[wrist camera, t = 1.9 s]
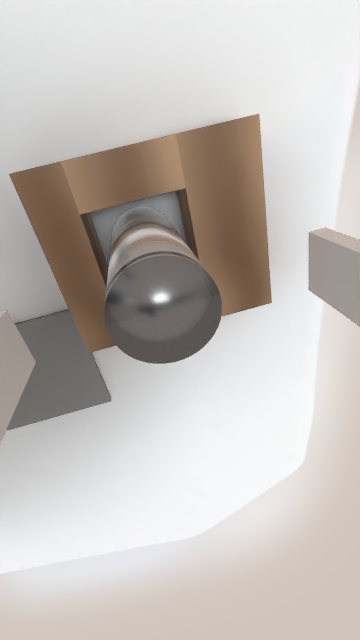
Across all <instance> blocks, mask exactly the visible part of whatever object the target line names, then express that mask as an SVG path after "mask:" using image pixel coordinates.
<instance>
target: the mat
mask: <svg viewBox="0 0 360 640" xmlns="http://www.w3.org/2000/svg"><path fill="white" fill-rule="evenodd" d="M15 326H16V327H17V329H18V331H19V333H20V334H21V336H22V338H23V340H24V342H25V343H26V345H27V347H28V349H29V351H30V352H31V354H32V356H33V358H34V360H35V361H36V363H35V365H34V367H33V370H32V372H31V374H30V377H29V379H28V381H27V383H26V386H25V388H24V390H23V393H22V395H21V397H20V400H19V402H18V404H17V406H16V409H15V411H14V413H13V416H12V418H11V420H10V422H9V425H8V427H7V430H10V429H14V428H17V427H21V426H25V425H28V424H32V423H35V422H39V421H42V420H46V419H49V418H53V417H56V416H60V415H64V414H67V413H71V412H74V411H78V410H81V409H85V408H88V407H92V406H95V405H99V404H102V403H106V402H110V401H111V396H110V394H109V392H108V389H107V387H106V385H105V383H104V380H103V378H102V376H101V374H100V371H99V369H98V367H97V364H96V362H95V360H94V358H93V355H92V353H91V352H90V353H88V350H87V348H86V346H85V344H84V342H83V339H82V337H81V335H80V333H79V330H78V328H77V326H76V324H75V321H74V319H73V317H72V315H71V312H70V310H66V311H62V312H58V313H54V314H51V315H47V316H43V317H39V318H36V319H32V320H28V321H24V322H20V323H17V324H15Z"/></svg>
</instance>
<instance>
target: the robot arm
mask: <svg viewBox="0 0 360 640" xmlns="http://www.w3.org/2000/svg"><path fill="white" fill-rule="evenodd" d="M309 290H310V291H311V292H313V293H314V294H315V295H317V296H318V297H319V298H321V299H322V300H324V301H325V302H326V303H328V304H329V305H331V306H332V307H333V308H335V309H336V310H337V311H339V312H340V313H342V314H343V315H345V316H346V317H347V318H349V319H350V320H351V321H353V322H354V323H355V324H357V325H358V326H360V240H359V239H356V238H353V237H351V236H348V235H345V234H342V233H339V232H336V231H333V230H331V229H328V228H323V229H319V230H315V231H311V232H309ZM35 363H36V361H35V360H34V358H33V356H32V354H31V352H30V351H29V349H28V347H27V345H26V343H25V342H24V340H23V338H22V336H21V334H20V333H19V331H18V329H17V327H16V326H15V324H14V322H13V320H12V318H11V317H10V315H9V313H8V311H7V310H5V311H1V312H0V443H1V441H2V438H3V436H4V434H5V432H6V429H7V427H8V425H9V422H10V420H11V418H12V416H13V413H14V411H15V409H16V406H17V404H18V402H19V400H20V397H21V395H22V393H23V390H24V388H25V386H26V383H27V381H28V379H29V377H30V374H31V372H32V370H33V367H34V365H35Z"/></svg>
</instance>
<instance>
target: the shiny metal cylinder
mask: <svg viewBox="0 0 360 640" xmlns="http://www.w3.org/2000/svg"><path fill="white" fill-rule="evenodd" d="M221 314H222V300H221V295H220V292H219V289H218V287H217V285H216V283H215V282H214V280H213V279H212V277H211V276H210V275H209V273H208V272H207V271H206V269H205V268H204V267H203V265H202V264H201V263H200V262H199V260H198V259H197V258H196V256H195V255H194V254H193V252H192V251H191V250H190V248H189V247H188V246H187V244H186V243H185V242H184V241H183V239H182V238H181V237H180V235H179V234H178V233H177V231H176V230H175V229H174V227H173V226H172V225H171V223H170V222H169V221H168V219H167V218H166V217H165V216H164V215H163V214H162V213H161V212H159V211H158V210H156V209H153V208H151V207H145V206H139V207H134V208H131V209H129V210H127V211H125V212H124V213H123V214H121V215H120V217H119V218H118V219H117V221H116V222H115V224H114V227H113V231H112V239H111V249H110V258H109V268H108V278H107V287H106V297H105V307H104V319H105V325H106V328H107V331H108V333H109V335H110V337H111V339H112V340H113V342H114V343H115V344H116V345H117V347H118V348H119V349H121V350H122V351H123V352H124V353H126V354H127V355H129V356H131V357H133V358H135V359H137V360H140V361H143V362H148V363H156V364H163V363H171V362H176V361H179V360H182V359H185V358H187V357H189V356H191V355H193V354H195V353H196V352H198V351H199V350H200V349H202V348H203V347H204V346H205V345H206V344H207V343H208V342H209V341H210V339H211V338H212V337H213V335H214V334H215V332H216V330H217V328H218V326H219V323H220V319H221Z"/></svg>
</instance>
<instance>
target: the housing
mask: <svg viewBox="0 0 360 640" xmlns="http://www.w3.org/2000/svg"><path fill="white" fill-rule="evenodd" d="M9 175H10V177H11V180H12V182H13V184H14V186H15V189H16V191H17V193H18V195H19V198H20V200H21V202H22V204H23V207H24V209H25V211H26V213H27V216H28V218H29V220H30V222H31V225H32V227H33V229H34V231H35V234H36V236H37V238H38V240H39V243H40V245H41V247H42V249H43V252H44V254H45V256H46V258H47V261H48V263H49V265H50V267H51V270H52V272H53V274H54V276H55V279H56V281H57V283H58V285H59V288H60V290H61V292H62V294H63V297H64V299H65V301H66V303H67V306H68V308H69V310H70V312H71V315H72V317H73V319H74V321H75V324H76V326H77V328H78V330H79V333H80V335H81V337H82V339H83V342H84V344H85V346H86V348H87V350H88V353H90V352H93V351H97V350H101V349H104V348H108V347H112V346H115V345H116V344H115V343H114V342H113V340H112V339H111V337H110V335H109V333H108V331H107V328H106V325H105V319H104V307H105V297H106V287H107V278H108V266H107V263H106V260H105V257H104V255H103V252H102V249H101V246H100V243H99V240H98V237H97V234H96V231H95V229H94V226H93V223H92V220H91V217H90V214H89V212H92V211H96V210H100V209H104V208H108V207H112V206H116V205H120V204H124V203H128V202H132V201H136V200H140V199H144V198H148V197H152V196H156V195H160V194H164V193H168V192H172V191H176V190H177V195H178V200H179V205H180V210H181V215H182V220H183V225H184V230H185V235H186V240H187V245H188V247H189V248H190V250H191V251H192V252H193V254H194V255H195V256H196V258H197V259H198V260H199V262H200V263H201V264H202V265H203V267H204V268H205V269H206V271H207V272H208V273H209V275H210V276H211V277H212V279H213V280H214V282H215V283H216V285H217V287H218V289H219V292H220V295H221V300H222V314H221V316H225V315H229V314H232V313H236V312H240V311H243V310H247V309H251V308H254V307H258V306H262V305H265V304H269V303H272V301H271V286H270V271H269V256H268V241H267V226H266V210H265V195H264V180H263V165H262V150H261V135H260V119H259V114H256V115H252V116H248V117H244V118H240V119H236V120H231V121H227V122H223V123H219V124H215V125H211V126H207V127H202V128H198V129H194V130H190V131H186V132H182V133H177V134H173V135H169V136H165V137H161V138H157V139H153V140H148V141H144V142H140V143H136V144H132V145H128V146H124V147H119V148H115V149H111V150H107V151H103V152H99V153H94V154H90V155H86V156H82V157H78V158H74V159H70V160H65V161H61V162H57V163H53V164H49V165H45V166H41V167H36V168H32V169H28V170H24V171H20V172H16V173H11V174H9Z"/></svg>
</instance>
